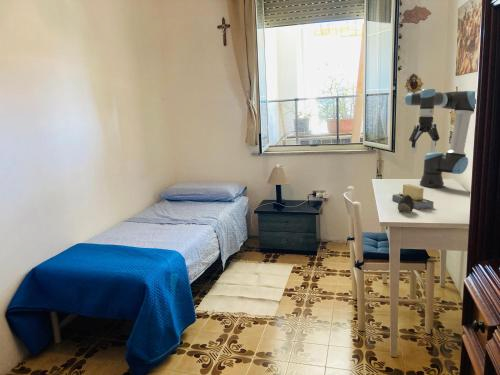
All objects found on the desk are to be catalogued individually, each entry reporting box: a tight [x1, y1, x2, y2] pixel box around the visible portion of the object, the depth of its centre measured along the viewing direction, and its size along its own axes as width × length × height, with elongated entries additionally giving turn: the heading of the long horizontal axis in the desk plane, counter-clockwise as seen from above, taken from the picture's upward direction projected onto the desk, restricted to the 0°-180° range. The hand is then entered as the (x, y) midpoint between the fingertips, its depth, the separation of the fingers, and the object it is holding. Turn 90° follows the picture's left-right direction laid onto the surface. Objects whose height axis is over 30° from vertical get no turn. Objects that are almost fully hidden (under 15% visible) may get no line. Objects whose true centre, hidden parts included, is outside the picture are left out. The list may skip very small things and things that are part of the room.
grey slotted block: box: [391, 192, 435, 211], centre depth 223 cm, size 10×22×4 cm, turn 19°
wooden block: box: [402, 183, 425, 202], centre depth 222 cm, size 4×12×9 cm, turn 19°
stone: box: [397, 195, 415, 213], centre depth 209 cm, size 8×7×10 cm
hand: (423, 152), depth 228 cm, fingers open, 13 cm apart
